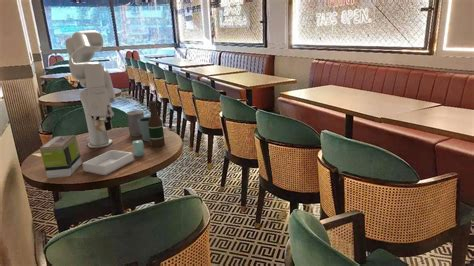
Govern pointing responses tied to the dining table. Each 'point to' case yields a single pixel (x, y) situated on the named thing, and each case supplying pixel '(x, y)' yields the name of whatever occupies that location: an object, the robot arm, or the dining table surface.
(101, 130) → the maple cube
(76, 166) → the tea box
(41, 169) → the dining table surface
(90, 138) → the robot arm
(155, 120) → the beer bottle
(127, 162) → the white tray
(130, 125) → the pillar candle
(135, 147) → the teal cylinder
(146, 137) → the drinking glass
